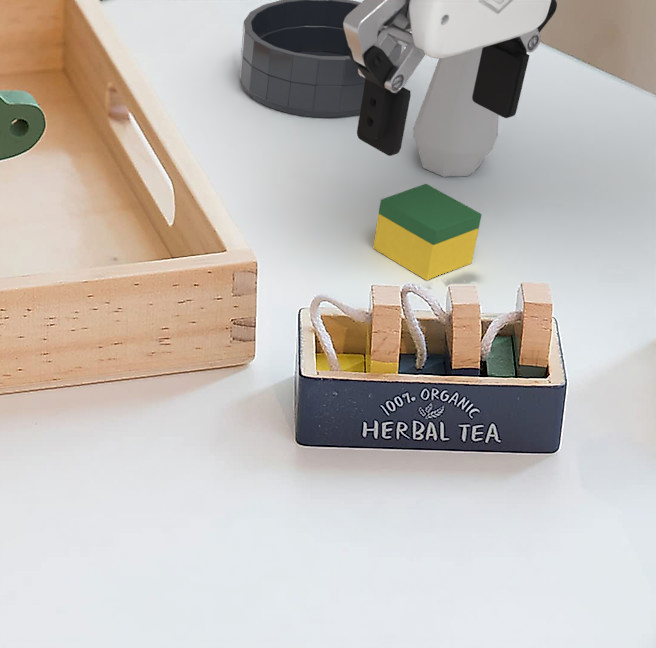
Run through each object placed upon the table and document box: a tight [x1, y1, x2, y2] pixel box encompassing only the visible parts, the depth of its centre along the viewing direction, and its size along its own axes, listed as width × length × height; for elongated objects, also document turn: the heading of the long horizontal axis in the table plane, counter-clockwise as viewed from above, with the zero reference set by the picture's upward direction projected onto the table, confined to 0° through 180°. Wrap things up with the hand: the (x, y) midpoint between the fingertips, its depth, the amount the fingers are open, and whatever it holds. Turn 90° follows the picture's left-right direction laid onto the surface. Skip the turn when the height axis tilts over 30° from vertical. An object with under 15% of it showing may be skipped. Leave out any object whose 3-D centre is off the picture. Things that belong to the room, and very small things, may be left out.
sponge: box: [372, 183, 482, 281], centre depth 98 cm, size 4×5×4 cm
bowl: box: [239, 0, 406, 118], centre depth 117 cm, size 12×12×5 cm
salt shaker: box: [412, 48, 499, 178], centre depth 104 cm, size 6×6×13 cm
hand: (436, 127), depth 93 cm, fingers open, 9 cm apart
